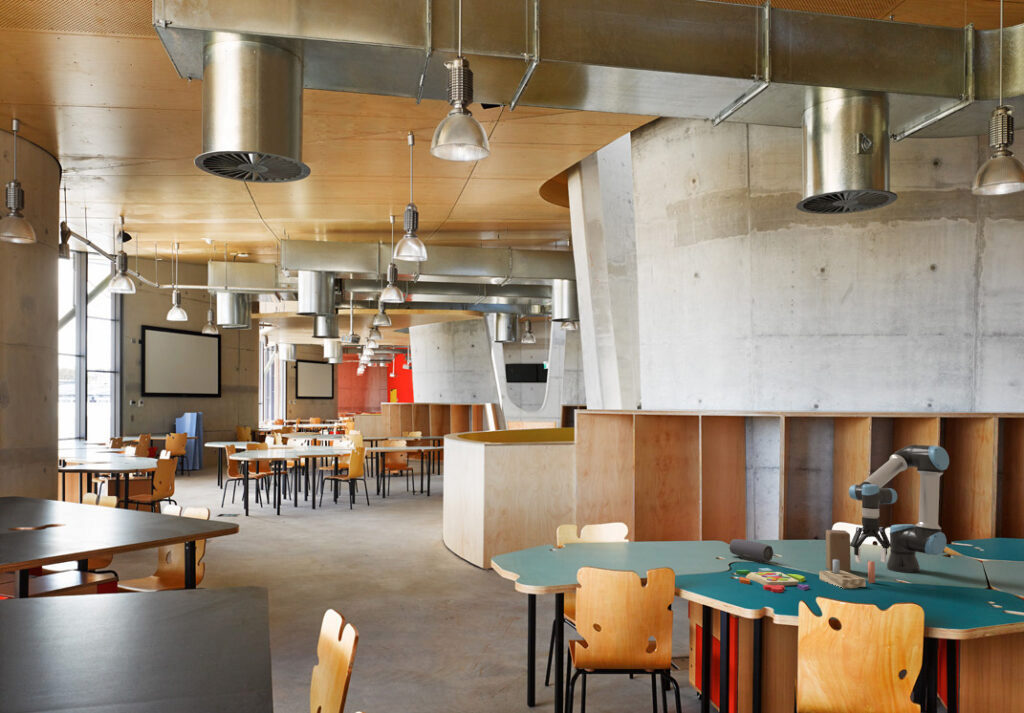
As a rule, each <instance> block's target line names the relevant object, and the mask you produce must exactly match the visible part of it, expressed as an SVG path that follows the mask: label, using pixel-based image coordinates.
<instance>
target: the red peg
mask: <svg viewBox="0 0 1024 713" xmlns="http://www.w3.org/2000/svg"><path fill="white" fill-rule="evenodd" d="M875 564H876V562H875V561H872V560H868V561H867V583H868V584H871V583H875V584H876V566H875Z"/></svg>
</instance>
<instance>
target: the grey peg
mask: <svg viewBox="0 0 1024 713" xmlns="http://www.w3.org/2000/svg"><path fill="white" fill-rule="evenodd" d="M833 574H840V567H839V560H833Z"/></svg>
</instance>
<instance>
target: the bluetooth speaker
mask: <svg viewBox="0 0 1024 713" xmlns="http://www.w3.org/2000/svg"><path fill="white" fill-rule="evenodd" d="M728 549H729V551H730V553H731V554H733V555H736V556H739V557H741V558H742V559H744V560H748V561H752V562H761V561H763V562H769V561H771V560H772V558H773V557H774V549H773V547H772V546H771V545H768V544H765V543H761V542H757V541H752V540H745V539H741V538H733V539H732V540H730V543H729V547H728Z"/></svg>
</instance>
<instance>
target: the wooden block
mask: <svg viewBox="0 0 1024 713" xmlns="http://www.w3.org/2000/svg"><path fill="white" fill-rule="evenodd" d="M850 544H851V534H850V533H849V532H848V531H847V530H844V529H843V530H842V529H841V530H840V529H839V530H838V529H836V530H835V529H826V530H825V564H826V565H825V566H826V569H827V571H833V560H839V567H840V570H842V571H845V572H848V573H850V574H851V546H850Z"/></svg>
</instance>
